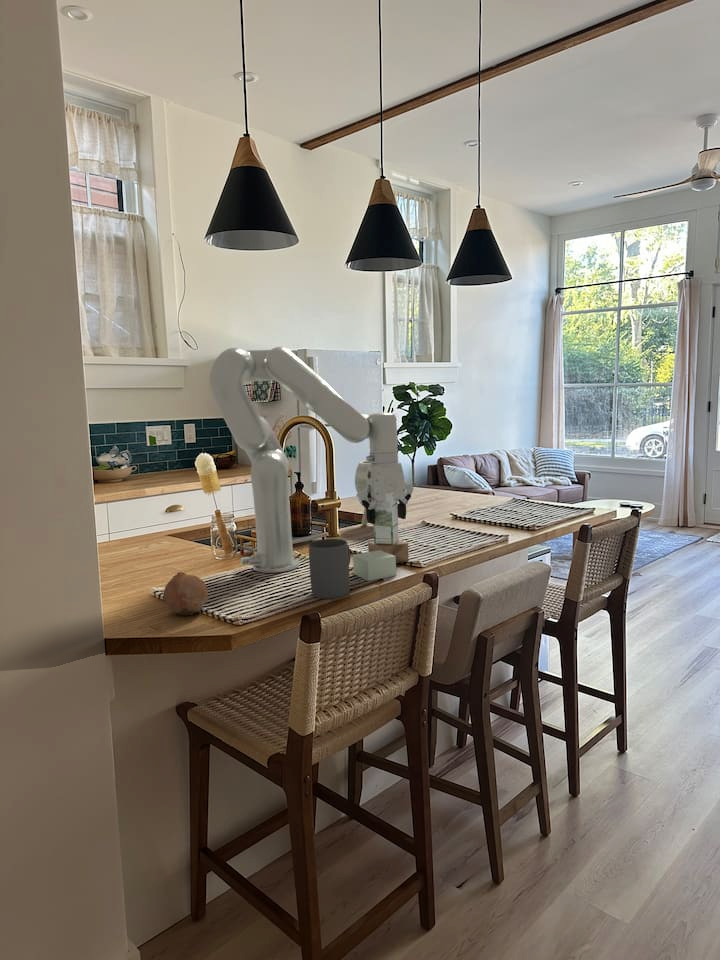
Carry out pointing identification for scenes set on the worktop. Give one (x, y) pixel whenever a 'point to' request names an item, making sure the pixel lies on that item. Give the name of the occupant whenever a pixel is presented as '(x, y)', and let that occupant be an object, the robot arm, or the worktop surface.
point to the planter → (362, 483)
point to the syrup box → (386, 521)
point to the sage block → (374, 565)
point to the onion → (185, 594)
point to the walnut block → (392, 550)
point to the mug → (329, 568)
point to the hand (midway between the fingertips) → (386, 520)
